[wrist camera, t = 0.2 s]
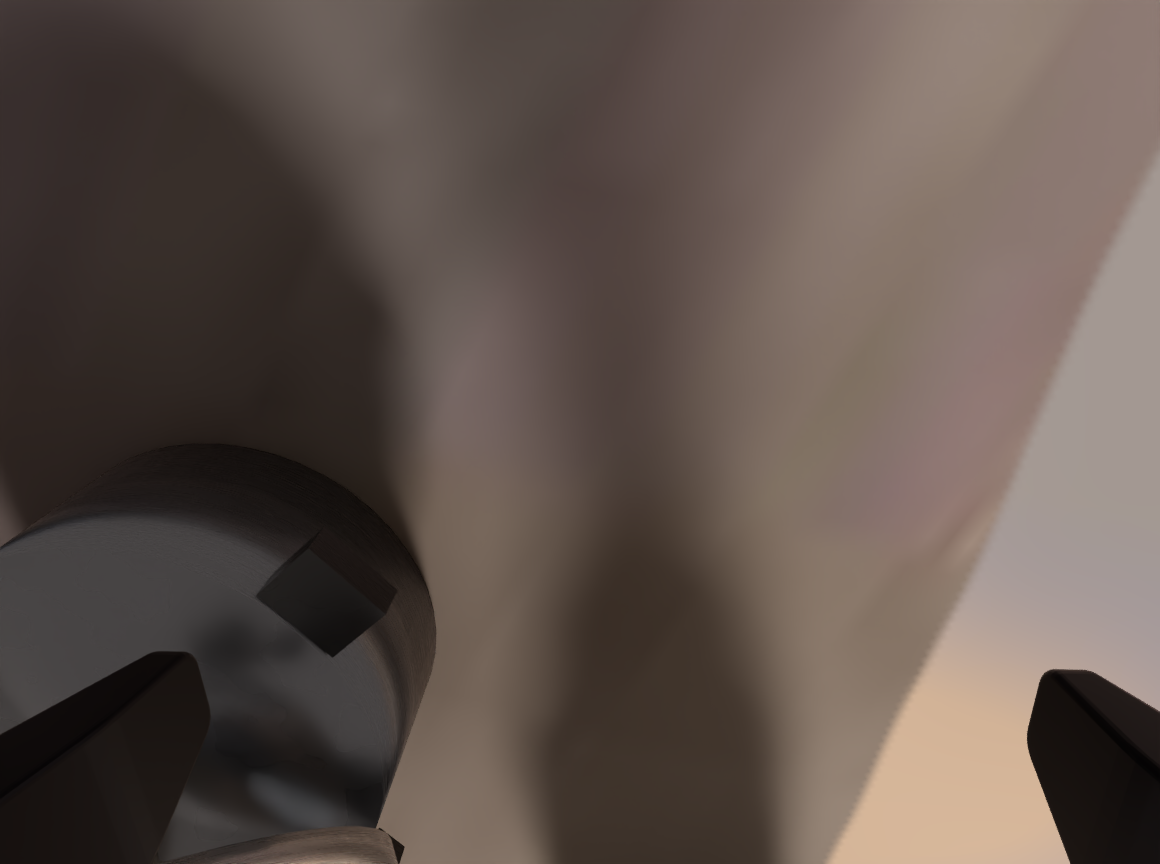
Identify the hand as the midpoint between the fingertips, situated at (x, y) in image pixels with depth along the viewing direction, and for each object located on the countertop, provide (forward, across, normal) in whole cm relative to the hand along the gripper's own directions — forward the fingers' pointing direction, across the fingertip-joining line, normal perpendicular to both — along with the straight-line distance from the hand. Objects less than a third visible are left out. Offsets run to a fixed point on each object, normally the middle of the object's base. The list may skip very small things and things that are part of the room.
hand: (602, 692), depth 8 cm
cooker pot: (+14, +13, +10) cm, 22 cm away
